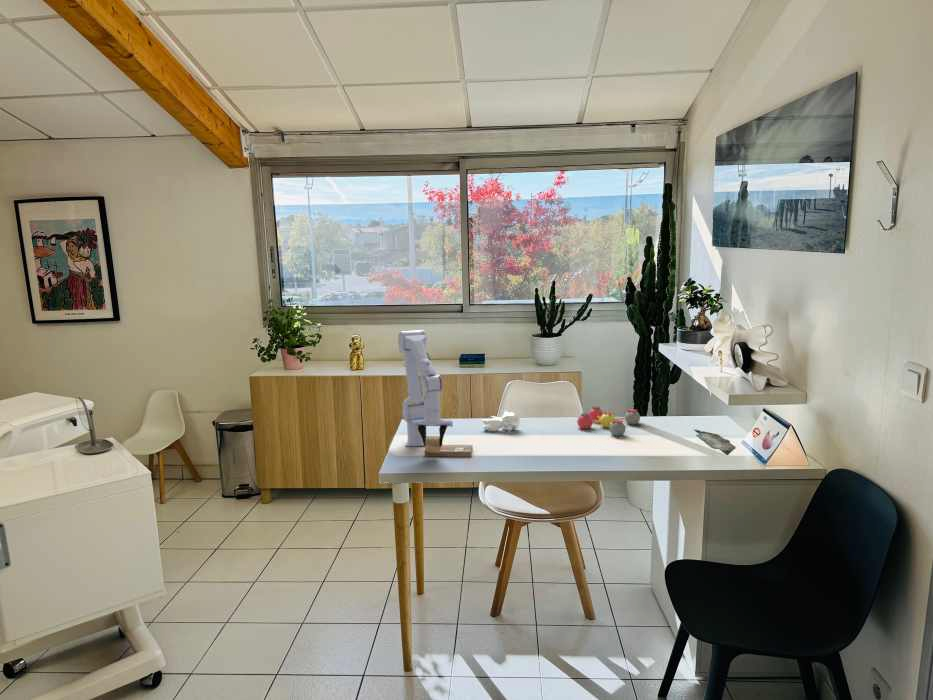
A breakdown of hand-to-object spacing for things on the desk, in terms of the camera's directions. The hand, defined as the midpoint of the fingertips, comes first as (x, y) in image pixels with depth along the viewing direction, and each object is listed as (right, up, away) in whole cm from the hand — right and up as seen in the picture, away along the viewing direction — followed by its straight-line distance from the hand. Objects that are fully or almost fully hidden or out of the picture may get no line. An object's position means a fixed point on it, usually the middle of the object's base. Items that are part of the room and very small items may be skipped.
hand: (433, 445), depth 234 cm
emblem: (+108, -1, +15) cm, 109 cm away
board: (+5, -4, +7) cm, 9 cm away
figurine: (+26, +1, +34) cm, 43 cm away
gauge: (0, -2, +2) cm, 2 cm away
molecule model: (+71, +2, +37) cm, 80 cm away
